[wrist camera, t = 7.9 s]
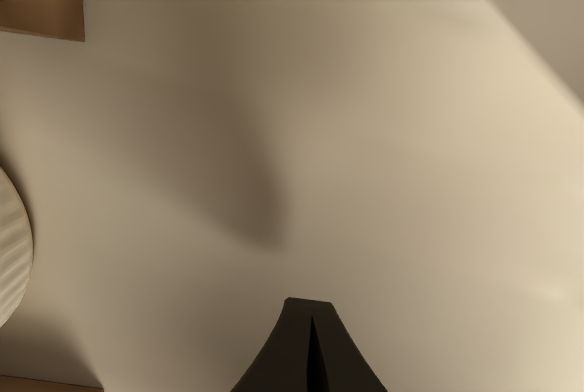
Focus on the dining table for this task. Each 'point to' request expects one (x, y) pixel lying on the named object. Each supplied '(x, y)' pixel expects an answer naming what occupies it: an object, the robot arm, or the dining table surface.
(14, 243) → the ramekin
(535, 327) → the dining table surface
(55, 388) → the shallow wooden tray
